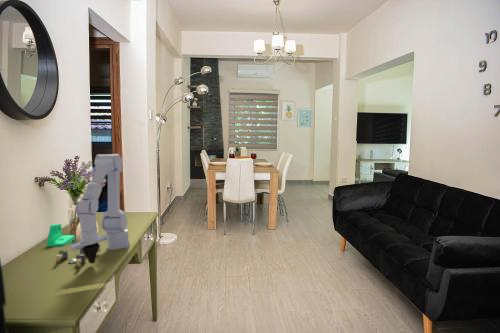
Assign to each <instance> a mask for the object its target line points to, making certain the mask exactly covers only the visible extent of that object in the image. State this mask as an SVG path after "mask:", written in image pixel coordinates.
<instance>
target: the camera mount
mask: <svg viewBox="0 0 500 333" xmlns="http://www.w3.org/2000/svg"><path fill="white" fill-rule="evenodd" d="M75 239H76V236H75V234H72V235H71V234H69V235H67V234H66V235H63V233H62V224H61V223H53V224H51V225H50V226H49V231H48V236H47V240H46V247H64V246H66V245H69V244H72V243H73V240H75Z"/></svg>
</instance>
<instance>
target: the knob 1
mask: <svg viewBox="0 0 500 333" xmlns="http://www.w3.org/2000/svg"><path fill="white" fill-rule="evenodd" d="M68 252H69V251H68V249H65V248H64V249H61V250H58V254H57V255H55V262H56V263H59V262H61V261H65V260H69V253H68Z"/></svg>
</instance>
